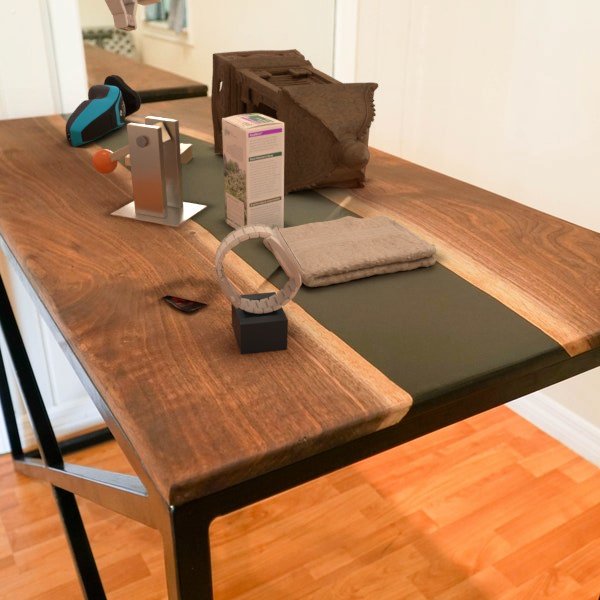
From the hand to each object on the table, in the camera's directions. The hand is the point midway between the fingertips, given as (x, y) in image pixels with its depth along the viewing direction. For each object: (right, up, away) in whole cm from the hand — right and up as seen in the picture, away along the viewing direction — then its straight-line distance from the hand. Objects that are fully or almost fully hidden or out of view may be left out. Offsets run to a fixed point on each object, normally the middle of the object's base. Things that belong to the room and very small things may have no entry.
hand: (126, 29), depth 89 cm
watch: (+20, -40, -27) cm, 52 cm away
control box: (0, -14, +20) cm, 24 cm away
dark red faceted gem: (+12, -37, -21) cm, 44 cm away
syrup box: (+18, -28, -4) cm, 34 cm away
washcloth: (+30, -32, -11) cm, 45 cm away
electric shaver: (-15, -5, +36) cm, 39 cm away
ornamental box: (+24, -18, +15) cm, 33 cm away
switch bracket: (+5, -26, -1) cm, 26 cm away
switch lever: (+2, -19, -4) cm, 19 cm away
